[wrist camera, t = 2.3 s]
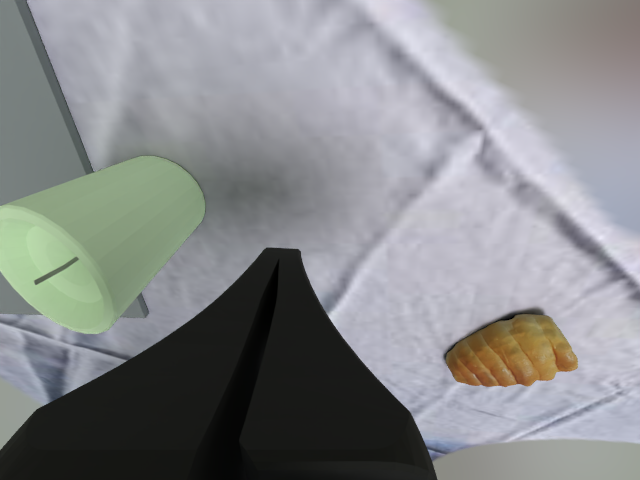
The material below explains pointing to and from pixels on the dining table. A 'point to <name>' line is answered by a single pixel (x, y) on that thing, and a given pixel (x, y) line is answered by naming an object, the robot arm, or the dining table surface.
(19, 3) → the mat
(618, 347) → the dining table surface
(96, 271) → the candle
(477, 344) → the pastry
